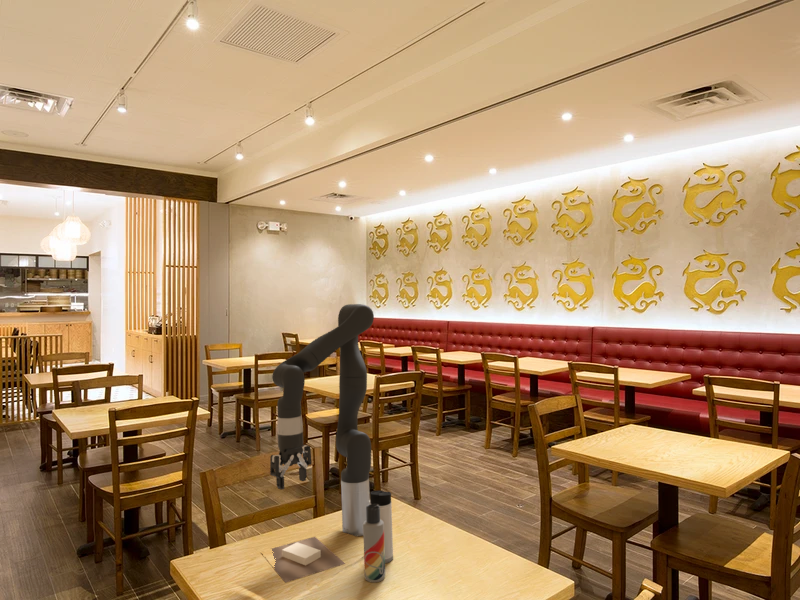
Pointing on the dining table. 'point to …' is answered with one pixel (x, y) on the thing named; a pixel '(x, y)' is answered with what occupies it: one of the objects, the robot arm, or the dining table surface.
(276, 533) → the dining table surface
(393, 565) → the dining table surface
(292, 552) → the tile
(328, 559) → the cloth
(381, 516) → the travel mug
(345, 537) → the dining table surface
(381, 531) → the lotion bottle
